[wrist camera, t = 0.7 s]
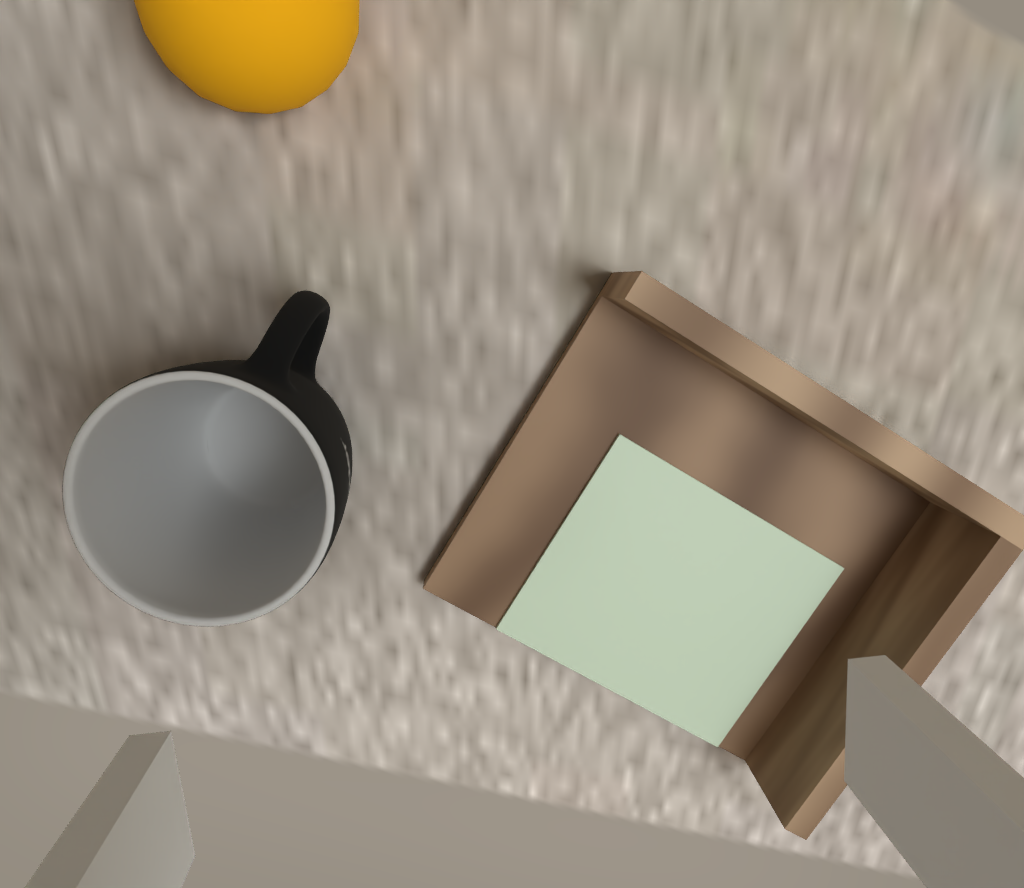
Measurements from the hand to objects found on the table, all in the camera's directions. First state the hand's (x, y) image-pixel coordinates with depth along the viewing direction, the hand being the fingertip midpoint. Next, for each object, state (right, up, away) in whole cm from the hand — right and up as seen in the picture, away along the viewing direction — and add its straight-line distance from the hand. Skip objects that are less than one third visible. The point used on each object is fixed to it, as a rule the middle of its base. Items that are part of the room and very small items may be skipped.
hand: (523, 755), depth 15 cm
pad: (+7, -1, +22) cm, 23 cm away
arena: (+8, +2, +23) cm, 24 cm away
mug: (-11, +8, +20) cm, 24 cm away
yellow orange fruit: (-10, +23, +17) cm, 31 cm away
